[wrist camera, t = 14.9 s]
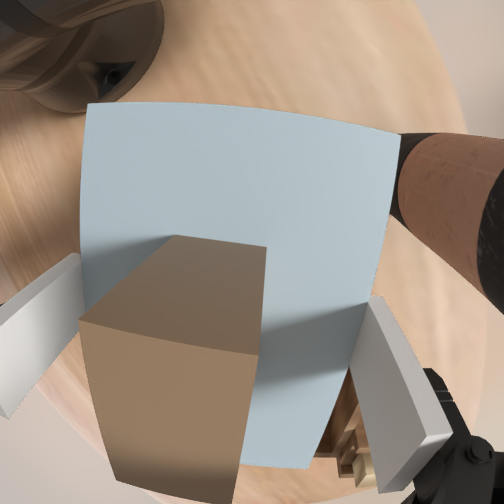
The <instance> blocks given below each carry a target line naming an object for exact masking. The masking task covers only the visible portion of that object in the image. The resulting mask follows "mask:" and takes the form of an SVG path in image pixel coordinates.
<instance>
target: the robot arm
mask: <svg viewBox="0 0 504 504" xmlns="http://www.w3.org/2000/svg"><path fill="white" fill-rule="evenodd" d="M163 29H164V12H163V7H162V4H161V1H160V0H0V90H4V91H9V90H13V91H21V92H22V93H24V94H26V95H27V96H29V97H30V98H32V99H34V100H35V101H37V102H38V103H40V104H42V105H43V106H45V107H47V108H49V109H51V110H55V111H58V112H67V113H84V112H87V106H88V104H91V103H111V102H115V101H116V100H118V99H119V98H121V97H122V96H123V95H125V94H126V93H127V92H128V91H129V90H130V89H131V88H133V87H134V86H135V84H136V83H137V82H138V81H139V80H140V79H141V78H142V76H143V75H144V74H145V72H146V71H147V70H148V68H149V66H150V65H151V63H152V61H153V60H154V58H155V56H156V53H157V51H158V49H159V46H160V43H161V39H162V35H163ZM84 313H85V305H84V294H83V282H82V266H81V254H79V253H73V252H72V253H71V254H70V255H68V256H67V257H65V258H64V259H62V260H61V261H60V262H58V263H57V264H55V265H54V266H53V267H51V268H50V269H49V270H47V271H46V272H44V273H43V274H42V275H40V276H39V277H38V278H36V279H35V280H34V281H32V282H31V283H30V284H28V285H27V286H26V287H25V288H23V289H22V290H21V291H19V292H18V293H17V294H16V295H14V296H13V297H12V298H10V299H9V300H8V301H7V302H5V303H3V304H1V305H0V415H2V416H3V417H5V418H7V419H9V418H10V417H11V415H12V414H13V413H14V411H15V410H16V409H17V407H18V406H19V405H20V403H21V402H22V401H23V399H24V398H25V397H26V395H27V394H28V393H29V391H30V390H31V389H32V388H33V386H34V385H35V384H36V383H37V381H38V380H39V379H40V377H41V376H42V375H43V374H44V372H45V371H46V370H47V369H48V367H49V366H50V365H51V364H52V362H53V361H54V360H55V359H56V358H57V356H58V355H59V354H60V353H61V352H62V350H63V349H64V348H65V347H66V346H67V344H68V343H69V342H70V341H71V340H72V338H73V337H74V336H75V335H76V334H77V333H78V331H79V325H78V319H79V318H80V317H81V316H82V315H83V314H84ZM349 367H350V371H351V374H352V378H353V382H354V386H355V390H356V394H357V398H358V402H359V406H360V410H361V414H362V418H363V422H364V427H365V431H366V435H367V440H368V444H369V449H370V453H371V458H372V462H373V467H374V472H375V477H376V482H377V487H378V492H379V494H380V493H388V492H396V491H402V490H404V489H405V488H406V487H407V486H408V485H409V484H410V482H412V480H413V483H414V486H415V490H414V491H413V492H412V494H410V495H409V496H408V497H407V498H406V499H405V500H404V501H403V502H402V503H401V504H504V452H495V451H494V449H493V447H492V446H491V445H490V444H489V443H488V442H487V441H486V440H485V439H483V438H481V437H479V436H472V435H471V434H470V432H469V430H468V428H467V426H466V424H465V422H464V420H463V418H462V416H461V414H460V412H459V410H458V408H457V406H456V404H455V402H453V398H452V396H451V394H450V392H448V389H447V387H446V385H445V383H444V381H443V379H442V378H441V377H440V376H439V375H438V374H437V373H436V372H435V371H434V370H433V369H432V368H422V367H421V365H420V363H419V361H418V359H417V357H416V355H415V353H414V351H413V350H412V348H411V346H410V344H409V342H408V340H407V338H406V337H405V335H404V333H403V331H402V329H401V328H400V326H399V324H398V322H397V320H396V319H395V317H394V315H393V313H392V312H391V310H390V308H389V306H388V305H387V303H386V301H385V300H384V298H383V297H382V296H373V295H370V298H369V302H368V304H367V308H366V311H365V315H364V318H363V322H362V325H361V328H360V332H359V335H358V338H357V341H356V345H355V348H354V351H353V354H352V357H351V360H350V363H349Z"/></svg>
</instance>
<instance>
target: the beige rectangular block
mask: <svg viewBox="0 0 504 504" xmlns="http://www.w3.org/2000/svg"><path fill="white" fill-rule="evenodd" d="M352 466H353V472H354V479H355V485H356V488H363V487H375V486H377V482H376V477H375V472H374V467H373V462H372V458H371V453H359V454H358V456H357V457H356V459H355V460H354V462H353V463H352ZM412 482H413V480H412Z"/></svg>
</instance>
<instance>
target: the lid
mask: <svg viewBox="0 0 504 504" xmlns="http://www.w3.org/2000/svg"><path fill="white" fill-rule="evenodd" d="M400 141H401V135H398V134H394V133H391V132H387V131H383V130H378V129H374V128H370V127H366V126H361V125H357V124H352V123H347V122H342V121H337V120H332V119H327V118H321V117H315V116H309V115H303V114H297V113H290V112H283V111H276V110H268V109H260V108H251V107H241V106H230V105H217V104H202V103H181V102H111V103H91V104H88V106H87V113H86V121H85V130H84V140H83V152H82V166H81V185H80V253H81V266H82V282H83V294H84V305H85V313H84V314H83V315H82V316H81V317H80V318H79V319H78V325H79V332H80V339H81V345H82V351H83V357H84V363H85V368H86V373H87V378H88V383H89V387H90V392H91V396H92V401H93V405H94V409H95V413H96V417H97V420H98V424H99V428H100V431H101V435H102V438H103V442H104V445H105V448H106V451H107V455H108V458H109V461H110V464H111V467H112V469H113V472H114V475H115V478H116V480H117V481H121V482H124V483H127V484H130V485H133V486H137V487H140V488H143V489H147V490H151V491H154V492H158V493H162V494H166V495H171V496H175V497H180V498H184V499H189V500H194V501H200V502H205V503H211V504H232V499H233V494H234V489H235V483H236V478H237V473H238V468H239V464H246V465H255V466H265V467H277V468H293V469H308V467H309V465H310V463H311V460H312V458H313V456H314V454H315V451H316V449H317V447H318V445H319V442H320V440H321V438H322V435H323V433H324V430H325V428H326V426H327V423H328V421H329V418H330V416H331V413H332V410H333V408H334V405H335V403H336V400H337V397H338V395H339V392H340V389H341V387H342V384H343V381H344V378H345V375H346V372H347V370H348V367H349V363H350V360H351V357H352V354H353V351H354V348H355V345H356V341H357V338H358V335H359V332H360V328H361V325H362V322H363V318H364V315H365V311H366V308H367V304H368V302H369V298H370V294H371V291H372V287H373V283H374V279H375V275H376V271H377V267H378V263H379V258H380V254H381V250H382V245H383V241H384V236H385V231H386V227H387V222H388V216H389V211H390V206H391V200H392V195H393V189H394V183H395V177H396V170H397V163H398V156H399V149H400Z"/></svg>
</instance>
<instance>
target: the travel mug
mask: <svg viewBox="0 0 504 504" xmlns="http://www.w3.org/2000/svg"><path fill="white" fill-rule="evenodd" d="M398 135H401V141H400V149H399V156H398V163H397V170H396V177H395V183H394V189H393V195H392V200H391V206H390V211H389V213H390V214H391V215H392V216H393V217H395V218H396V219H397V220H398V221H399V222H400V223H401V224H402V225H404V226H405V227H406V228H407V229H408V230H409V231H410V232H411V233H412V234H413V235H414V236H416V237H417V238H418V239H419V240H420V241H421V242H423V243H424V244H425V245H426V246H428V247H429V248H430V249H431V250H432V251H434V252H435V253H436V254H437V255H438V256H440V257H441V258H442V259H443V260H444V261H446V262H447V263H448V264H449V265H450V266H451V267H453V268H454V269H455V270H456V271H457V272H458V273H459V274H461V275H462V276H463V277H464V278H465V279H466V280H467V281H468V282H470V283H471V284H472V285H473V286H474V287H475V288H476V289H477V290H478V291H479V292H480V293H482V294H483V295H484V296H485V297H486V298H487V299H488V300H489V301H490V302H491V303H492V304H493V305H494V306H495V307H496V308H497V309H498V310H499V311H500V312H501V313H502V314H503V315H504V139H497V138H489V137H482V136H473V135H465V134H455V133H406V134H398Z"/></svg>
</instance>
